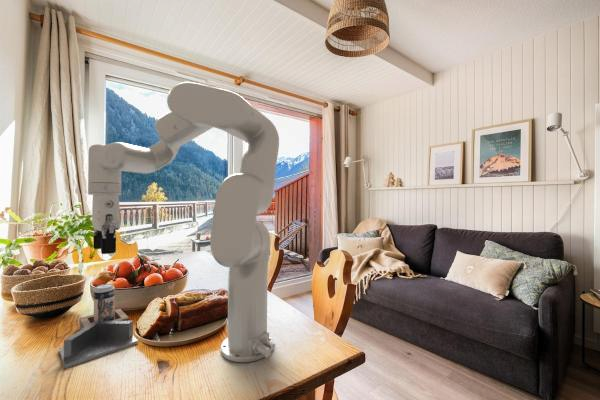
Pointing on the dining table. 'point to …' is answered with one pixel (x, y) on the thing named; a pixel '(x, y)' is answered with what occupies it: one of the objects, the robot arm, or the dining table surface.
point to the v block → (97, 341)
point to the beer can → (104, 303)
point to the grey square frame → (90, 319)
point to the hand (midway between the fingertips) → (104, 250)
